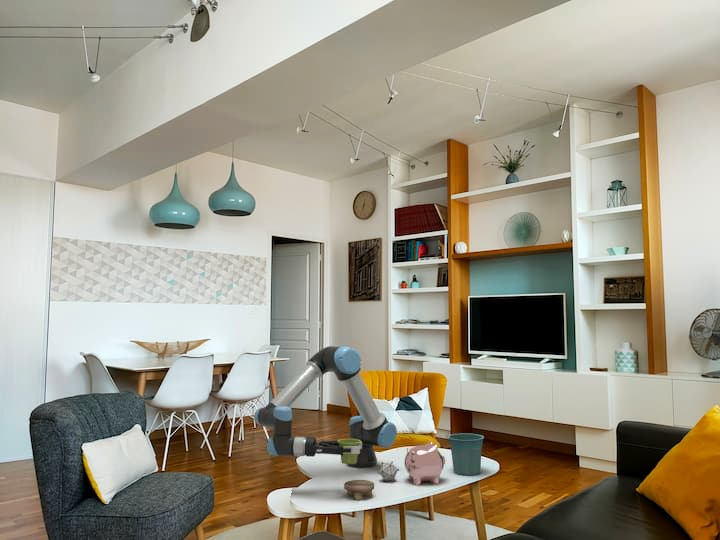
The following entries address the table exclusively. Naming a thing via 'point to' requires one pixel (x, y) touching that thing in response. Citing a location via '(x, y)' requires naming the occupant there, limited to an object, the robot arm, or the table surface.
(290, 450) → the robot arm
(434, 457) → the piggy bank
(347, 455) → the plant pot
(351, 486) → the stand
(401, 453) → the table surface
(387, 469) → the game die
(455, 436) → the flower pot
